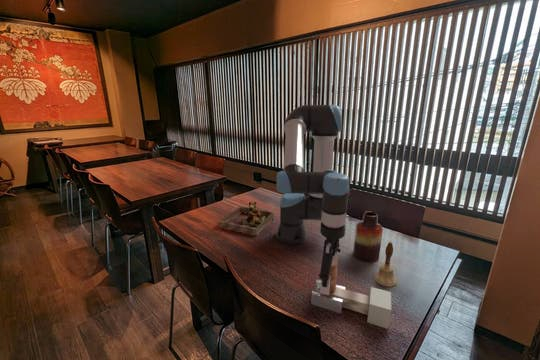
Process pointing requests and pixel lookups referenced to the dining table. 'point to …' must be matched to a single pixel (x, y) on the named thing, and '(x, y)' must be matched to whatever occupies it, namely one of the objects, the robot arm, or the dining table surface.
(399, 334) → the dining table surface
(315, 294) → the sleeve
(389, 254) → the hand bell
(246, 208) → the shallow square tray
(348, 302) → the sliding bolt with handle
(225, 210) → the dining table surface
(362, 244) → the vase
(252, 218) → the bear figurine
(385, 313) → the white upright block
